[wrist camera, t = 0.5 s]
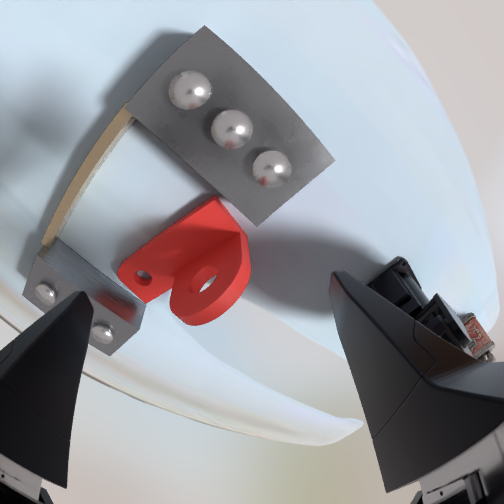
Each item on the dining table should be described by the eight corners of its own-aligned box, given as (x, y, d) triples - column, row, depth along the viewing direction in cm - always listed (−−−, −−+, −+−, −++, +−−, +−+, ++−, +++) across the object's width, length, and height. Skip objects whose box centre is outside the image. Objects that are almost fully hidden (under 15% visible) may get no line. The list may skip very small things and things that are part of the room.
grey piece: (319, 149, 20) (338, 163, 17) (116, 333, 29) (108, 360, 26) (203, 32, 15) (197, 18, 11) (33, 272, 24) (16, 295, 20)
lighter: (471, 310, 34) (501, 354, 25) (475, 316, 35) (503, 358, 27) (436, 342, 37) (461, 388, 28) (442, 346, 38) (465, 390, 30)
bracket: (215, 194, 22) (209, 247, 15) (247, 235, 24) (254, 298, 17) (116, 266, 25) (88, 326, 18) (148, 296, 27) (130, 359, 20)
